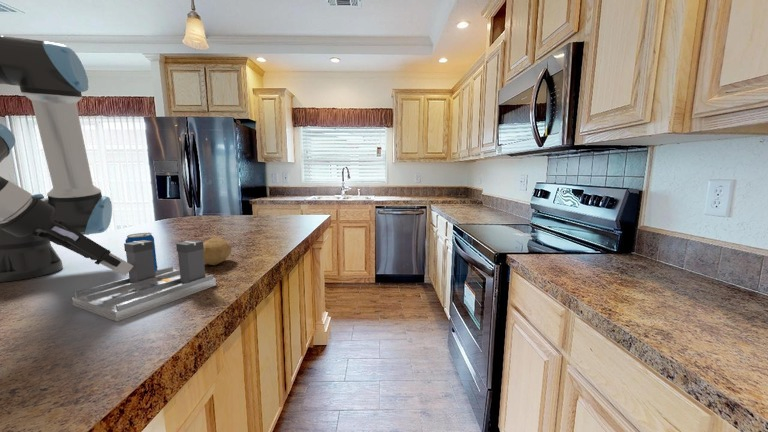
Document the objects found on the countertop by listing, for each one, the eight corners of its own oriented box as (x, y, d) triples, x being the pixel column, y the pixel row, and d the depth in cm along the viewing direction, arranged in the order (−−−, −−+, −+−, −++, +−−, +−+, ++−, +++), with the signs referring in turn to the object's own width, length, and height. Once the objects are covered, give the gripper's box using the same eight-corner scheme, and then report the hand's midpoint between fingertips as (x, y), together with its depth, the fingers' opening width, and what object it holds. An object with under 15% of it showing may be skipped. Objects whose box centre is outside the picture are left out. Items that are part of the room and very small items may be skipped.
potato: (191, 271, 93) (188, 246, 92) (204, 259, 106) (202, 236, 105) (226, 269, 96) (224, 243, 94) (234, 257, 109) (233, 235, 108)
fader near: (128, 281, 78) (123, 243, 77) (147, 276, 82) (143, 239, 81) (137, 284, 76) (132, 244, 75) (156, 278, 80) (152, 241, 79)
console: (73, 305, 69) (71, 292, 69) (173, 275, 89) (172, 265, 89) (116, 321, 62) (115, 307, 62) (216, 285, 82) (215, 274, 81)
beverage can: (163, 271, 93) (159, 232, 91) (144, 278, 87) (139, 237, 85) (143, 270, 94) (139, 232, 92) (123, 278, 87) (118, 236, 86)
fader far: (179, 282, 78) (176, 243, 76) (196, 276, 82) (193, 239, 80) (189, 284, 76) (186, 244, 75) (206, 278, 80) (203, 241, 79)
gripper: (-18, 223, 59) (102, 280, 76) (9, 229, 53) (131, 288, 71) (19, 194, 63) (124, 254, 80) (47, 196, 57) (154, 260, 75)
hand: (127, 270), depth 75 cm, fingers closed
